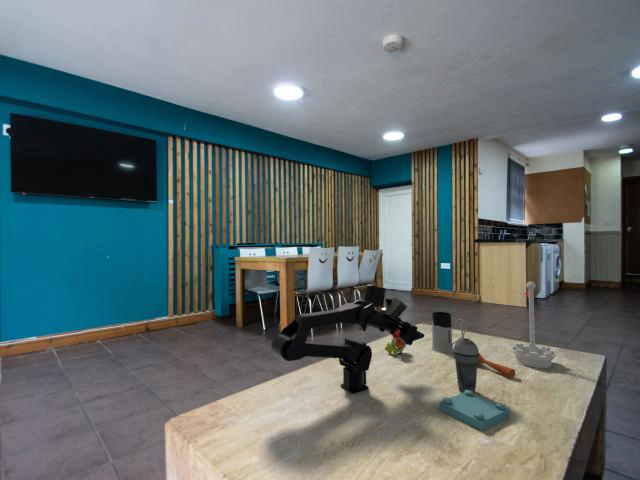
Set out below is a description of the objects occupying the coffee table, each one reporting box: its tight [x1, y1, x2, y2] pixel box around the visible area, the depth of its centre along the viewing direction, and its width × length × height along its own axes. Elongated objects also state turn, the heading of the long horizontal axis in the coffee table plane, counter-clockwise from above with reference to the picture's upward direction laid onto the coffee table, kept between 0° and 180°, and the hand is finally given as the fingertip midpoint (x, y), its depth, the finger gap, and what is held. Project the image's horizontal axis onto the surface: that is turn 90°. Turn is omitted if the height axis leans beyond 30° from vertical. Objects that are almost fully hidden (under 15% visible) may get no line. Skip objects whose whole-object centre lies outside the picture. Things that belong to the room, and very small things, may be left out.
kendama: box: [477, 352, 516, 379], centre depth 116 cm, size 6×6×20 cm
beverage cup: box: [452, 323, 480, 395], centre depth 98 cm, size 7×7×20 cm
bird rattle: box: [384, 330, 407, 356], centre depth 133 cm, size 6×11×9 cm
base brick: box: [438, 390, 511, 432], centre depth 85 cm, size 12×12×3 cm
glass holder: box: [431, 311, 467, 354], centre depth 136 cm, size 9×14×15 cm, turn 51°
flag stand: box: [512, 281, 556, 369], centre depth 121 cm, size 13×13×30 cm
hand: (415, 330), depth 111 cm, fingers open, 9 cm apart
